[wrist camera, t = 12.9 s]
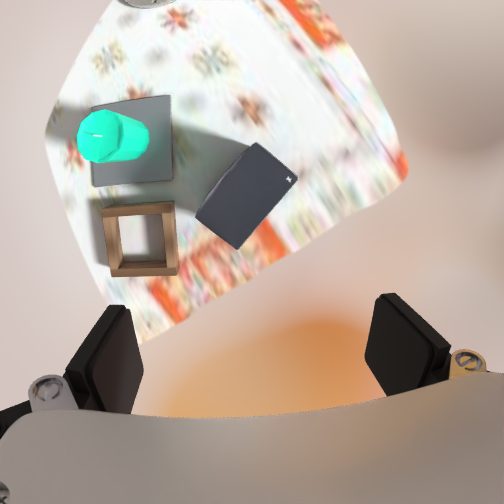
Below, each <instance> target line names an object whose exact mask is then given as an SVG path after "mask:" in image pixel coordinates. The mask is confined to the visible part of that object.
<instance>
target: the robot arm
mask: <svg viewBox="0 0 504 504" xmlns="http://www.w3.org/2000/svg"><path fill="white" fill-rule="evenodd" d="M174 1H176V0H125V2H127V3H128V4H130V5H132V6H134V7H139V8H153V7H159V6H163V5H166V4H169V3H172V2H174ZM450 348H451V345H450V344H449V343H448V342H447V341H446V340H445V339H444V338H443V337H442V336H441V335H440V334H439V333H438V332H437V331H436V330H435V329H434V328H432V326H431V325H429V324H428V323H427V322H426V321H425V320H424V319H423V318H422V317H421V316H420V315H418V313H417V312H415V311H414V310H413V309H412V308H411V307H410V306H409V305H408V304H407V303H405V301H403V300H402V299H401V298H400V297H399V296H398V295H397V294H396V293H388V294H381V295H380V297H379V298H377V299H376V301H375V306H374V312H373V317H372V322H371V327H370V332H369V337H368V342H367V346H366V351H365V361H366V363H367V365H368V366H369V368H370V370H371V371H372V373H373V374H374V376H375V378H376V379H377V381H378V382H379V384H380V386H381V387H382V389H383V390H384V392H385V394H386V395H387V397H383V398H379V399H374V400H370V401H365V402H360V403H355V404H350V405H345V406H340V407H334V408H327V409H321V410H314V411H306V412H298V413H290V414H279V415H268V416H253V417H233V418H232V417H231V418H179V417H157V416H144V415H132V414H131V411H132V407H133V404H134V401H135V398H136V395H137V392H138V389H139V385H140V383H141V379H142V376H143V372H144V370H143V363H142V359H141V356H140V352H139V347H138V343H137V339H136V335H135V330H134V326H133V321H132V316H131V312H130V310H129V309H126V307H125V306H124V305H109V306H108V307H107V309H106V310H105V311H104V313H103V314H102V316H101V317H100V318H99V320H98V321H97V323H96V324H95V325H94V327H93V328H92V330H91V331H90V333H89V334H88V336H87V337H86V338H85V340H84V342H83V343H82V345H81V346H80V347H79V349H78V350H77V352H76V353H75V355H74V357H73V358H72V359H71V361H70V363H69V364H68V366H67V367H66V369H65V370H66V372H65V373H64V375H63V377H61V376H58V375H46V376H43V377H40V378H38V379H37V380H36V381H34V382H33V383H32V385H31V386H30V388H29V390H28V396H29V400H28V401H25V402H23V403H21V404H18V405H15V406H12V407H10V408H7V409H5V410H2V411H0V504H504V374H503V373H496V372H490V371H487V370H486V362H485V360H484V358H483V357H482V356H481V355H479V354H478V353H476V352H474V351H471V350H466V349H462V350H457V351H455V352H454V353H453V354H452V355H451V354H450V353H449V351H450Z"/></svg>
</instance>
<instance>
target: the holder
mask: <svg viewBox="0 0 504 504" xmlns="http://www.w3.org/2000/svg"><path fill="white" fill-rule="evenodd" d="M146 214H162V219H163V230H164V241H165V251H166V260H167V261H142V262H124V260H123V253H122V246H121V238H120V230H119V222H118V217H119V216H132V215H146ZM102 216H103V225H104V232H105V240H106V246H107V253H108V259H109V265H110V271H111V276H112V277H138V276H175V275H177V273H178V271H179V268H180V265H179V255H178V244H177V233H176V220H175V206H174V201H162V202H147V203H135V204H123V205H111V206H108V207H106V208H103V209H102Z"/></svg>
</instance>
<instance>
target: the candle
mask: <svg viewBox="0 0 504 504" xmlns="http://www.w3.org/2000/svg"><path fill="white" fill-rule="evenodd" d="M148 144H149V132H148V129H147V128H146V127H145V125H144V124H143V123H142V122H140V121H137V120H134V119H132V118H129V117H126V116H124V115H121V114H118V113H115V112H112V111H109V110H106V109H104V110H100V111H96V112H93V113H91V114H90V115H89V116H87V117H86V118H85V119H84V120H83V121H82V122H81V124H80V127H79V130H78V133H77V145H78V150H79V151H80V153H81V154H82V155H83V157H84V158H85V159H86V160H89V161H92V162H96V163H106V162H119V161H129V160H134V159H137V158H139V157H140V156H141V155H142V154H143V153H144V152H145V151H146V149H147V146H148Z"/></svg>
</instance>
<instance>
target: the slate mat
mask: <svg viewBox="0 0 504 504" xmlns="http://www.w3.org/2000/svg"><path fill="white" fill-rule="evenodd" d="M104 109H106V110H109V111H112V112H115V113H118V114H121V115H124V116H126V117H129V118H132V119H134V120H137V121H140V122H142V123H143V124H144V125H145V127H146V128H147V129H148V132H149V144H148V146H147V149H146V151H145V152H144V153H143V154H142V155H141V156H140V157H139V158H137V159H134V160H129V161H119V162H106V163H96V162H93V174H94V187H102V186H110V185H119V184H129V183H139V182H151V181H163V180H173V169H172V139H171V95H168V96H159V97H151V98H144V99H137V100H130V101H124V102H118V103H113V104H107V105H102V106H97V107H93V108H92V113H93V112H96V111H100V110H104Z"/></svg>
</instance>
